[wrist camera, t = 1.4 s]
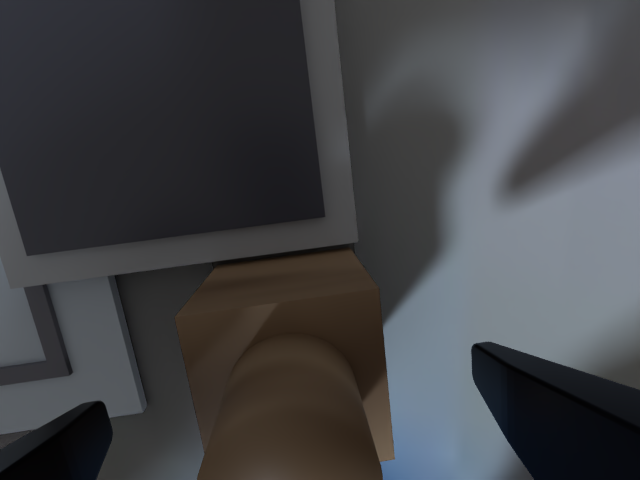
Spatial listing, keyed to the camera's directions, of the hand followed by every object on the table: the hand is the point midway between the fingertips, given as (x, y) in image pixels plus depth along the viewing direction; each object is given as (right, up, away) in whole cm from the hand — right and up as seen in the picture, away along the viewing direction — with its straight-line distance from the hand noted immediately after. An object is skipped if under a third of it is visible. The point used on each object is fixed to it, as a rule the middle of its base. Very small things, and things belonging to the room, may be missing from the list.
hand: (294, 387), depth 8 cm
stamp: (0, +1, +5) cm, 5 cm away
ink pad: (-4, +8, +3) cm, 10 cm away
